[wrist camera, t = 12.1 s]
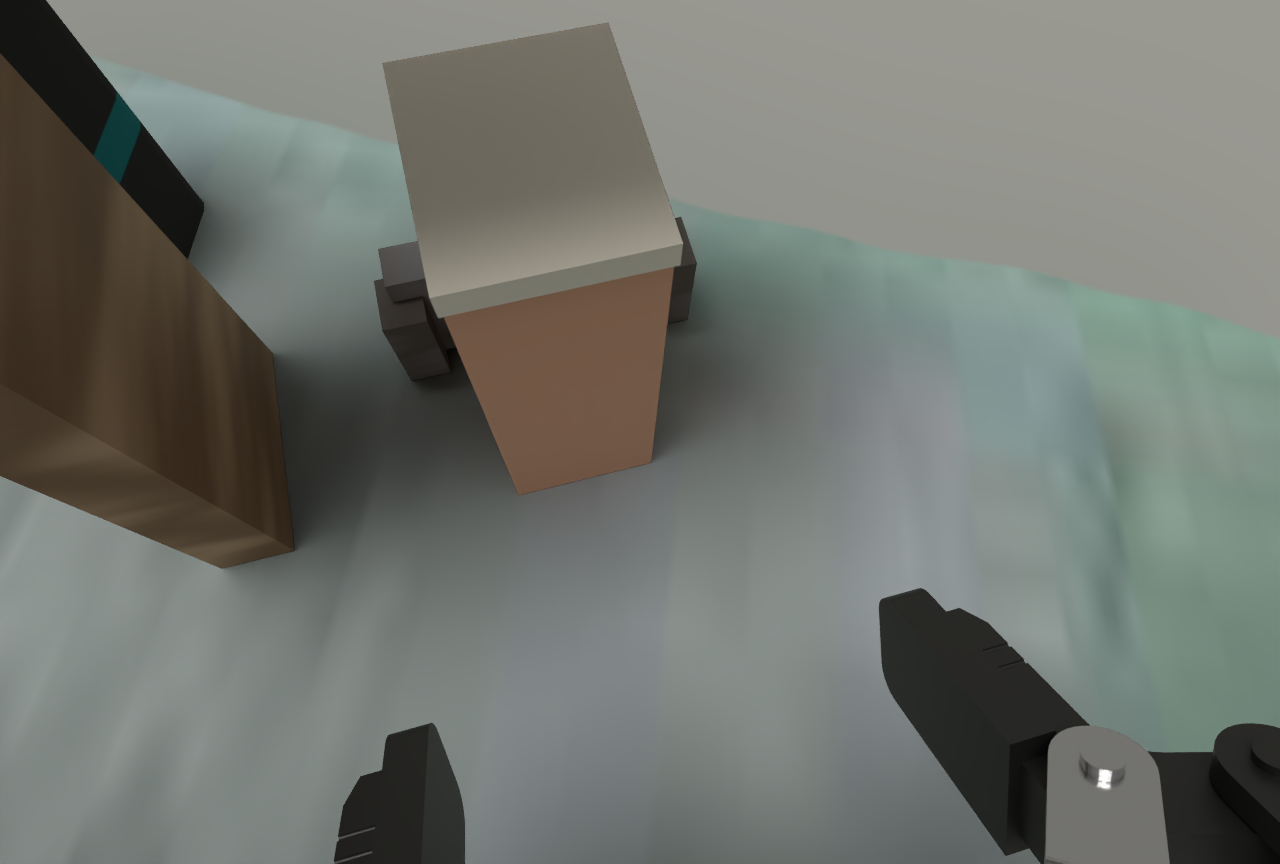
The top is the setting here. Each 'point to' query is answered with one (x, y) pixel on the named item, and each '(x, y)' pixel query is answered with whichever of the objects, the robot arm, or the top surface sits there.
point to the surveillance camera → (97, 116)
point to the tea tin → (543, 243)
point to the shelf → (154, 354)
